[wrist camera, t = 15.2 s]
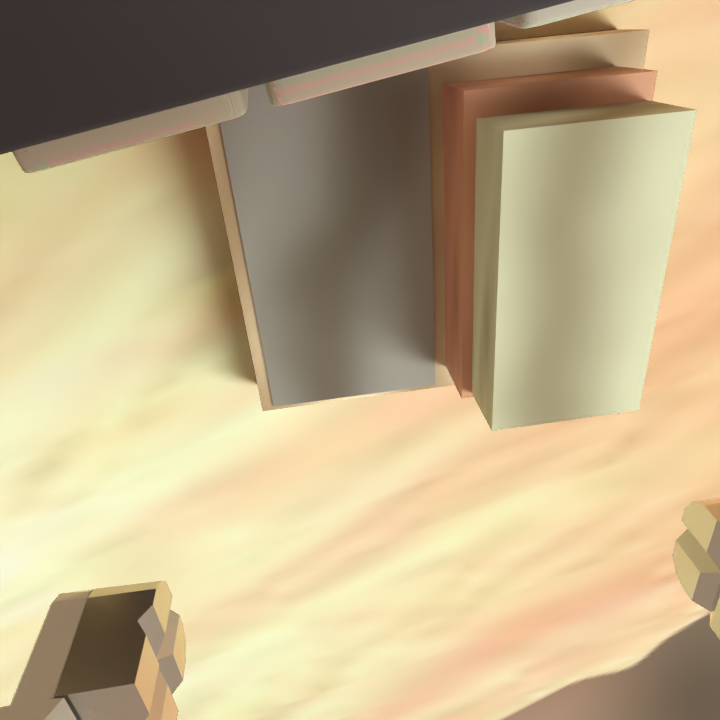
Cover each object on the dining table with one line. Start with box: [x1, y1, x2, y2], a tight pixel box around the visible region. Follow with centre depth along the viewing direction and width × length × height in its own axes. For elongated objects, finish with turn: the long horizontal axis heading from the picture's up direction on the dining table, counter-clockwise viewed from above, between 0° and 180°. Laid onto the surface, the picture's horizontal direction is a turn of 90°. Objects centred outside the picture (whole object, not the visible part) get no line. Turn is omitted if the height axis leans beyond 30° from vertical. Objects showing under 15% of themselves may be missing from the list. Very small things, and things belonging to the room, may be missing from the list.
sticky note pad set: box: [205, 30, 696, 431], centre depth 21 cm, size 15×13×7 cm
